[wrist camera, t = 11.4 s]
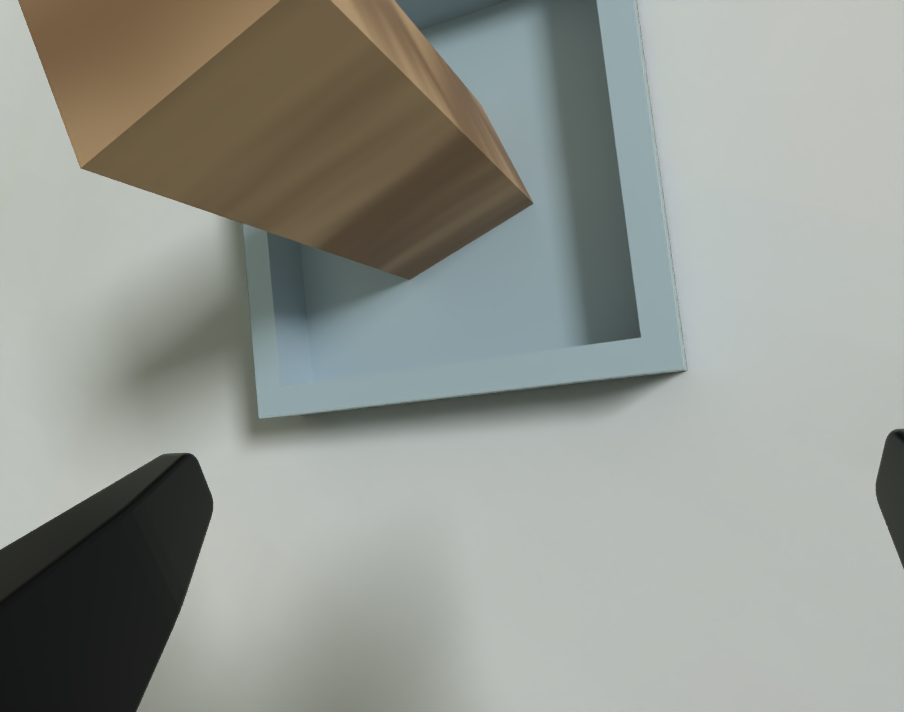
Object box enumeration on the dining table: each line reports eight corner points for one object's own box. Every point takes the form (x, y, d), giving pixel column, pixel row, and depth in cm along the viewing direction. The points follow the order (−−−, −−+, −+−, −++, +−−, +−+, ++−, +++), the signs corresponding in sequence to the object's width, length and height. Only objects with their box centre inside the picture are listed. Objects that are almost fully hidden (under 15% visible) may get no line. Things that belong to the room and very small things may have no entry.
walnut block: (533, 203, 22) (307, -22, 10) (409, 280, 23) (80, 167, 11) (481, 104, 22) (212, -219, 10) (364, 185, 24) (12, -16, 12)
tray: (687, 370, 20) (683, 368, 18) (300, 415, 25) (258, 418, 23) (628, -61, 21) (617, -115, 19) (269, 64, 26) (226, 33, 24)
